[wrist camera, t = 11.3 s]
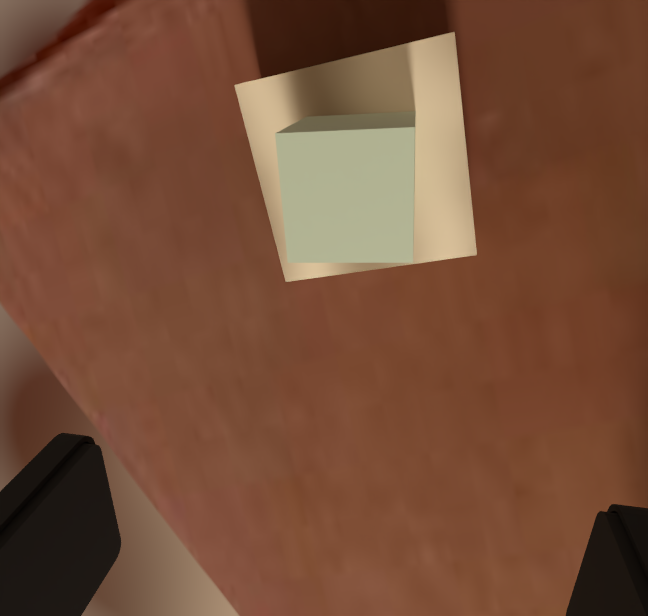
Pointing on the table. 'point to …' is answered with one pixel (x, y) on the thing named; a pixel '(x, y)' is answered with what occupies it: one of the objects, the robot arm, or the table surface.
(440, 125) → the maple block
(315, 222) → the sage block
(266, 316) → the table surface
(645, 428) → the table surface
